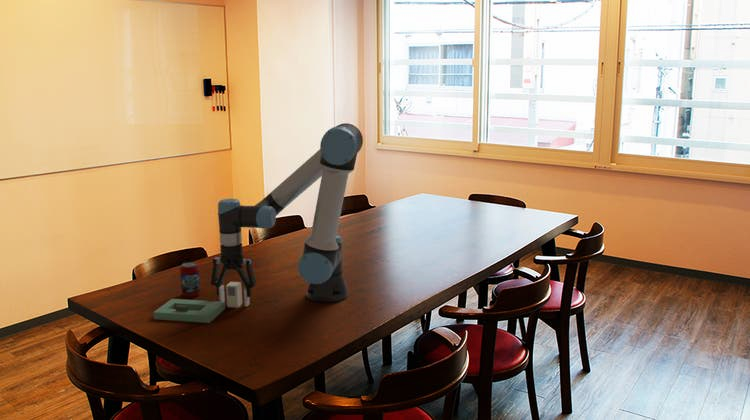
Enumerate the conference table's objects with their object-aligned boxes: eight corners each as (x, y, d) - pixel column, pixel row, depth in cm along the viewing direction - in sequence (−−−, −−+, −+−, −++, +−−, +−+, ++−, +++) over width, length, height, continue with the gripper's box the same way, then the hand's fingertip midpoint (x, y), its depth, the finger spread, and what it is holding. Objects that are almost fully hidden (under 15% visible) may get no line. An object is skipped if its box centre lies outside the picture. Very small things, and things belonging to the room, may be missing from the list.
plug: (242, 303, 245) (241, 282, 243) (237, 308, 241) (236, 286, 239) (231, 302, 246) (230, 281, 244) (226, 307, 241) (225, 285, 240)
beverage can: (182, 299, 250) (179, 267, 247) (182, 293, 256) (179, 262, 253) (201, 297, 252) (198, 266, 249) (200, 291, 258) (198, 260, 255)
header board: (225, 308, 240) (224, 297, 239) (209, 322, 227) (208, 311, 227) (172, 305, 244) (171, 294, 243) (154, 319, 231) (153, 307, 230)
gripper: (264, 241, 240) (267, 302, 245) (206, 239, 244) (211, 299, 249) (256, 247, 233) (259, 310, 238) (197, 244, 237) (202, 306, 242)
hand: (234, 304), depth 243 cm, fingers open, 9 cm apart
